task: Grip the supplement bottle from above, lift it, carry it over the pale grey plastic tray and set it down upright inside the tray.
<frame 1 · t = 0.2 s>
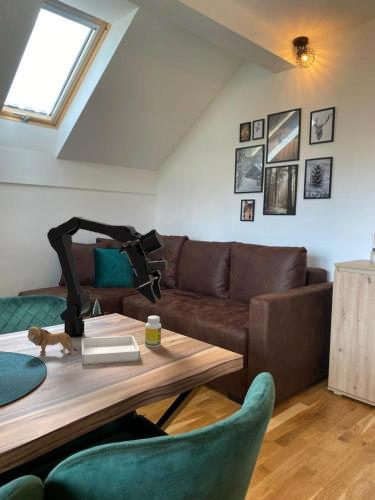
hand: (157, 300, 128), 15 cm above the table, tool tilted 30°, fingers open, 9 cm apart
tray: (109, 353, 119), on the table
lion figurine: (51, 354, 117), on the table
supplement bottle: (152, 345, 128), on the table
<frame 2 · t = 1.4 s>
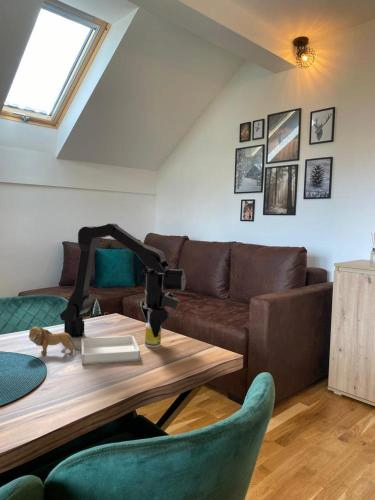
hand: (153, 332, 128), 4 cm above the table, tool pointing down, fingers open, 9 cm apart
nothing on the table moved.
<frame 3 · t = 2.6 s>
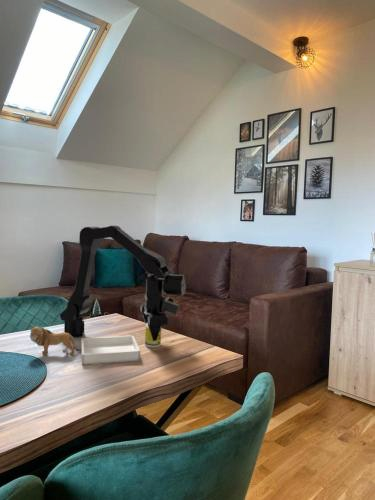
hand: (153, 337, 128), 3 cm above the table, tool pointing down, fingers closed on supplement bottle, 5 cm apart
supplement bottle: (152, 345, 128), on the table, touching gripper
everything else where it was.
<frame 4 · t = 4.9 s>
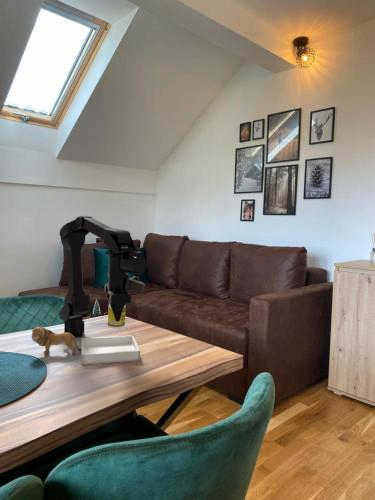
hand: (116, 318, 120), 11 cm above the table, tool pointing down, fingers closed on supplement bottle, 5 cm apart
supplement bottle: (116, 327, 120), point 8 cm above the table, touching gripper
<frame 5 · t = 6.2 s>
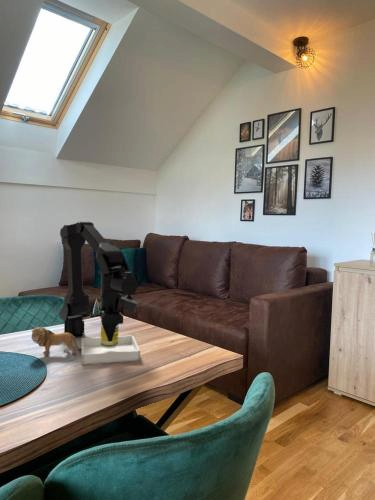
hand: (109, 338, 119), 5 cm above the table, tool pointing down, fingers closed on supplement bottle, 5 cm apart
supplement bottle: (109, 346, 119), point 2 cm above the table, touching gripper
when the fingers open (4 cm above the table, at t = 7.1 s): supplement bottle drops 1 cm, resting on tray.
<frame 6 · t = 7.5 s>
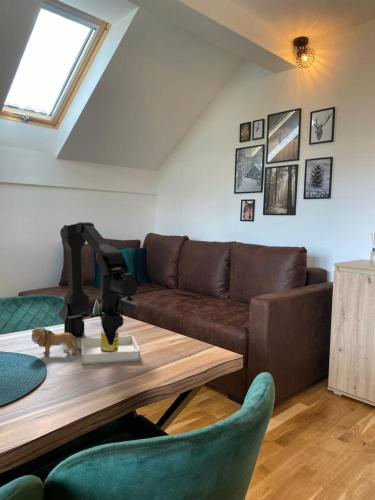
hand: (109, 339, 119), 4 cm above the table, tool pointing down, fingers open, 9 cm apart
supplement bottle: (109, 352, 119), resting on tray
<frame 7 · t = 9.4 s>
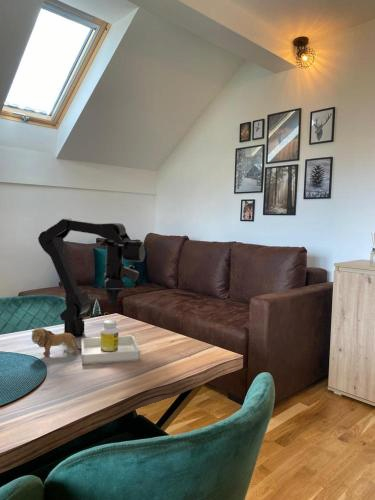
hand: (112, 303, 131), 13 cm above the table, tool pointing down, fingers open, 9 cm apart
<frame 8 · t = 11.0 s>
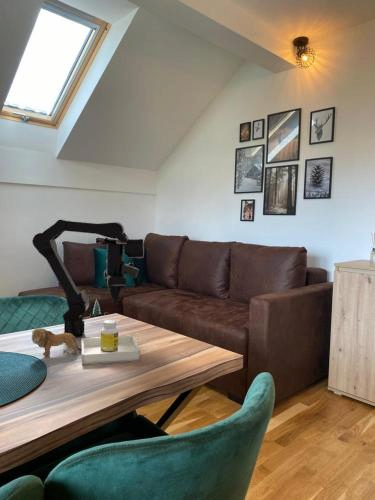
hand: (114, 300, 136), 13 cm above the table, tool pointing down, fingers open, 9 cm apart
at the end: supplement bottle inside the target area on the tray (0.1 cm from its centre), point 0.4 cm above the tray's base; supplement bottle tilted 0°; the gripper is holding nothing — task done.
